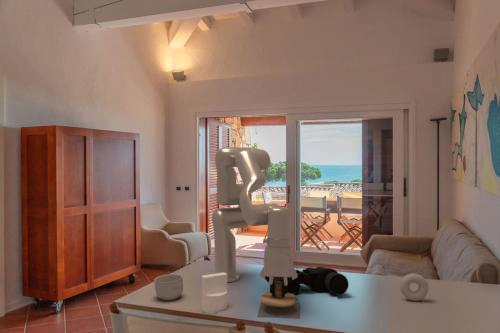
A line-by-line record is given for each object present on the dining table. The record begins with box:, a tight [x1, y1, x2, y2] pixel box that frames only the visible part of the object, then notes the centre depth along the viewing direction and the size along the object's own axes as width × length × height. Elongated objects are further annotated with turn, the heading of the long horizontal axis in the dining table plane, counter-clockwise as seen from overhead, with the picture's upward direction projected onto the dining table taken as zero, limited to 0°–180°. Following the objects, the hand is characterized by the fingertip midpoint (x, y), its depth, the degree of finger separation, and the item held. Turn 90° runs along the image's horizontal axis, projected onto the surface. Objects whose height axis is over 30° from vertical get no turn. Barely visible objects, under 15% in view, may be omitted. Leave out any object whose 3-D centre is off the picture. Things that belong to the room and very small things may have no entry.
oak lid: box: [260, 281, 297, 307], centre depth 136 cm, size 12×12×6 cm
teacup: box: [153, 272, 184, 301], centre depth 152 cm, size 14×11×8 cm
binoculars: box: [273, 266, 349, 296], centre depth 156 cm, size 29×20×10 cm
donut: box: [399, 272, 430, 302], centre depth 145 cm, size 10×4×10 cm, turn 78°
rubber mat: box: [256, 301, 301, 320], centre depth 135 cm, size 14×14×1 cm
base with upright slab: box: [201, 272, 228, 315], centre depth 139 cm, size 9×9×12 cm
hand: (278, 294), depth 136 cm, fingers closed on oak lid, 3 cm apart
